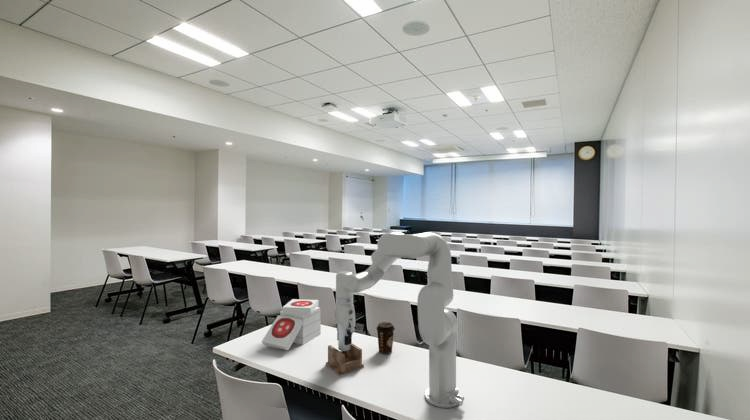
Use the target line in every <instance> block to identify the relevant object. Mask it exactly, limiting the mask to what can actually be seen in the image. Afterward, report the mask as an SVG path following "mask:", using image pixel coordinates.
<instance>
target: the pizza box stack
mask: <svg viewBox="0 0 750 420" xmlns="http://www.w3.org/2000/svg"><path fill="white" fill-rule="evenodd" d="M279 314H280V315H277V316H276V317H275V319H274V321H273V323H272V324H271V325H270V327H269V329H268V330H267V332H266V334H265V335H264V337H263V338H262V340H261V342H262V344H263V345H264V346H268V347H272V348H276V349H280V350H285V351H289V350H290V348H291V346H293V344H298V345H305V344H307V343H308V342H311V341H312V340H314V339H315V337H316V338H317V337H319V336H321V329H322V328H321V325H322V324H321V322H322V321H321V307H320V306H319V299H304V298H303V299H302V298H300V299H299V298H298V299H297V298H292V299H291V300H289V301H288V302H286V304H285V305H283V306H282V309H281V310H280V311H279ZM310 340H311V341H310Z"/></svg>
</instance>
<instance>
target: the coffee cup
mask: <svg viewBox="0 0 750 420" xmlns="http://www.w3.org/2000/svg"><path fill="white" fill-rule="evenodd" d="M395 329H396V328H395V326H394V325H393V323H391V322H385V321H383V322H380V323H378V325H377V326H376V331H377V344H378V353H379V354H382V355H391V353H393V346H394V345H393V344H394V335H395V333H394V331H395Z"/></svg>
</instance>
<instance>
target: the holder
mask: <svg viewBox="0 0 750 420" xmlns="http://www.w3.org/2000/svg"><path fill="white" fill-rule="evenodd" d="M325 365H326V366H327V367H328V368H329V369H331V370H332V371H333V372H335V374H336V375H338V376H339V377H341V376H343V375H347V374H350V373H351V372H355V371H357V370H360V369H362V368H363V369H364V367H365V364H364V363H363V349H362V348H361V347H359V346H358V345H356V344H354V343H353V342H352V343H351V344H350V350H347V351H341V350H339V349H338V348H336V347H334V346H332V345H331V344H329V345H328V346H327V361H326V362H325Z"/></svg>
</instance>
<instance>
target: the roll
mask: <svg viewBox="0 0 750 420" xmlns="http://www.w3.org/2000/svg"><path fill="white" fill-rule="evenodd" d="M348 328H349V326H348ZM347 331H349V329H348V330H347ZM345 336H346V334H345V329H344V328H342V325H341V324H339V323H338V340H337V341H338V343H337V345H338V347H337V350H339V351H347V350H350V344H349V345H345Z"/></svg>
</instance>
